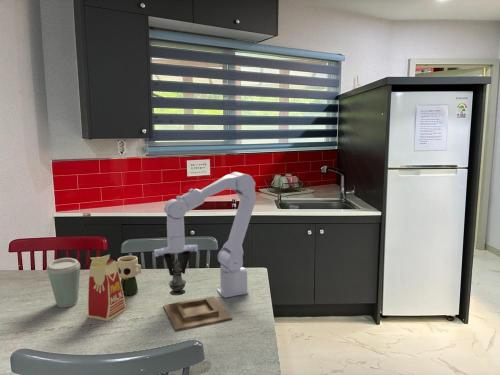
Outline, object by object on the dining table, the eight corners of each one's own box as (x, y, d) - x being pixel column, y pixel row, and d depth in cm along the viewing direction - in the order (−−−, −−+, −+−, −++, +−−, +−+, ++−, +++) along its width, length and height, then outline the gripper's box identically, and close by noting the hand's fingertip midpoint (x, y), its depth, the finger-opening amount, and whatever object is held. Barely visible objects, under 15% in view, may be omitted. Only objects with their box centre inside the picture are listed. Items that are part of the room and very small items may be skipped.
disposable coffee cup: (88, 303, 138) (85, 261, 136) (56, 314, 130) (53, 269, 128) (75, 295, 145) (72, 255, 143) (43, 304, 137) (40, 262, 135)
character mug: (110, 294, 145) (108, 260, 143) (122, 287, 152) (120, 254, 150) (136, 298, 142) (134, 263, 140) (147, 290, 148) (146, 257, 146)
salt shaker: (182, 296, 134) (181, 261, 133) (166, 295, 135) (165, 261, 134) (188, 289, 140) (187, 256, 138) (172, 288, 141) (171, 255, 139)
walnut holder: (214, 297, 142) (214, 292, 142) (232, 319, 126) (232, 313, 125) (163, 306, 135) (163, 301, 135) (175, 331, 118) (175, 324, 118)
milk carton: (126, 309, 133) (123, 251, 130) (108, 321, 125) (104, 259, 122) (104, 305, 136) (100, 248, 133) (84, 317, 128) (80, 256, 125)
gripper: (193, 230, 141) (194, 267, 143) (152, 234, 135) (153, 273, 137) (199, 234, 135) (200, 273, 137) (155, 239, 129) (157, 280, 131)
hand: (177, 273), depth 137 cm, fingers closed on salt shaker, 4 cm apart
